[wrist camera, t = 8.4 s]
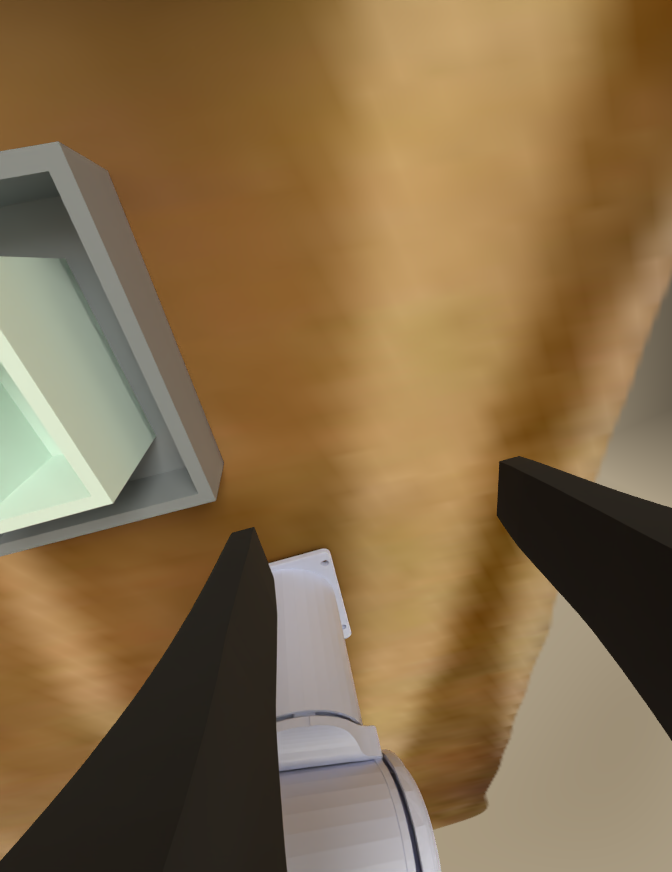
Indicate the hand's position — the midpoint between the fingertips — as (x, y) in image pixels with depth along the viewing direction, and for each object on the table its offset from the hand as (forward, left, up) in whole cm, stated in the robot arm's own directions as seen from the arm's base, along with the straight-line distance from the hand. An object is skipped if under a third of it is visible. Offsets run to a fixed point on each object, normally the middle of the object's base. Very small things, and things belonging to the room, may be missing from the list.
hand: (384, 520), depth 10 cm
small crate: (+5, +11, -9) cm, 15 cm away
